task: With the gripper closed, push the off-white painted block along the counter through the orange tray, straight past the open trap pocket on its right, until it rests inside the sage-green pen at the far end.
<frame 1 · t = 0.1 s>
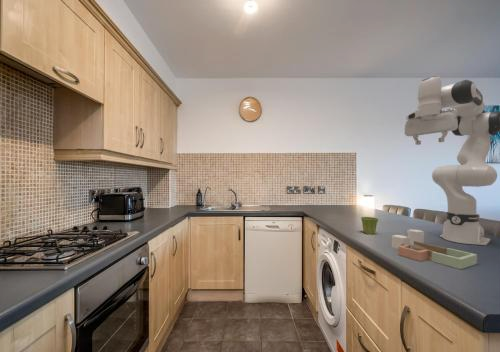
hand: (429, 143, 109), 48 cm above the countertop, tool pointing down, fingers open, 8 cm apart
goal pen: (452, 261, 92), on the countertop
plant pot: (369, 233, 139), on the countertop
beige cube: (415, 245, 115), on the countertop
block: (400, 248, 109), on the countertop
orange tray: (423, 254, 101), on the countertop
trap pocket: (413, 256, 98), on the countertop
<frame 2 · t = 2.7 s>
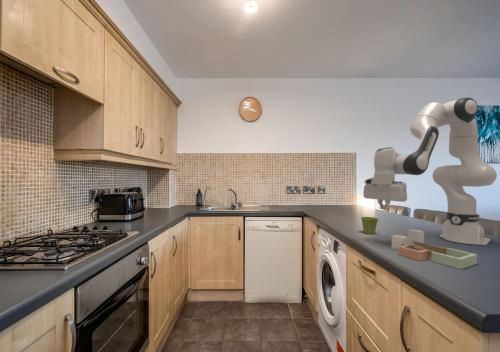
hand: (383, 209, 117), 17 cm above the countertop, tool pointing down, fingers closed
nothing on the countertop moved.
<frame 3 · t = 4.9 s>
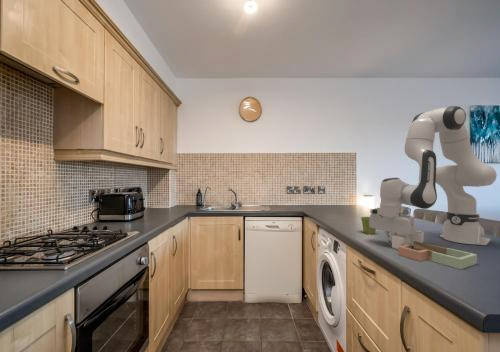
hand: (390, 241, 114), 2 cm above the countertop, tool pointing down, fingers closed
block: (400, 248, 109), on the countertop, touching gripper
everything else where it was.
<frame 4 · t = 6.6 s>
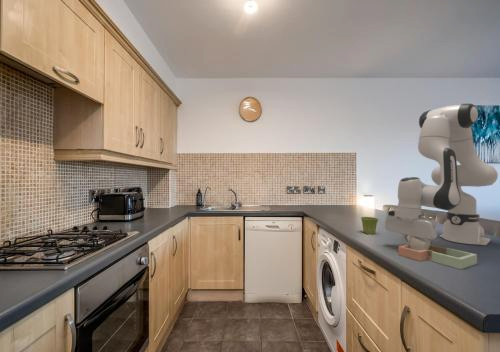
hand: (408, 245, 106), 2 cm above the countertop, tool pointing down, fingers closed
block: (417, 251, 103), point 1 cm above the countertop, tilted 18°, touching gripper
everything else where it was.
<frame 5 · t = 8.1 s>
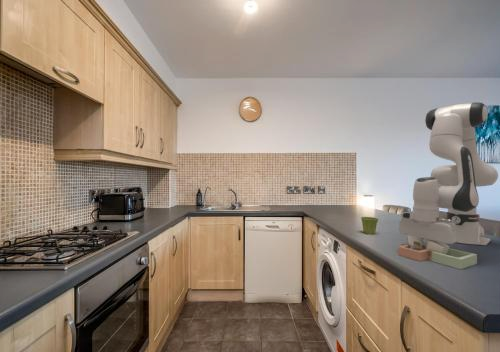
hand: (425, 249, 100), 2 cm above the countertop, tool pointing down, fingers closed
block: (434, 255, 97), point 1 cm above the countertop, tilted 18°, touching gripper
everything else where it was.
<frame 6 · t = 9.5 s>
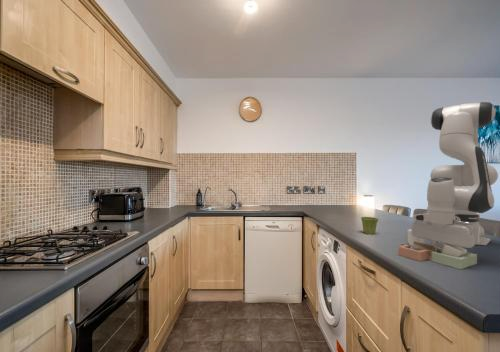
hand: (440, 253, 95), 2 cm above the countertop, tool pointing down, fingers closed
block: (450, 259, 92), point 1 cm above the countertop, tilted 18°, touching gripper
everything else where it was.
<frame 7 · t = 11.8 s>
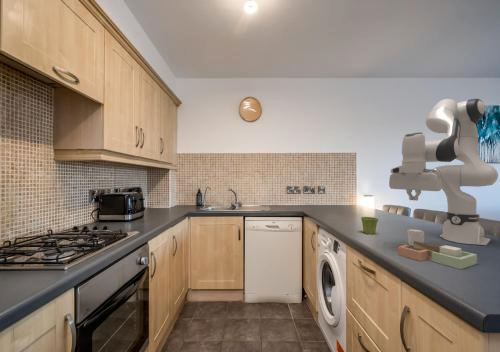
hand: (413, 200, 107), 22 cm above the countertop, tool pointing down, fingers closed
block: (450, 261, 92), on the countertop
everything else where it was.
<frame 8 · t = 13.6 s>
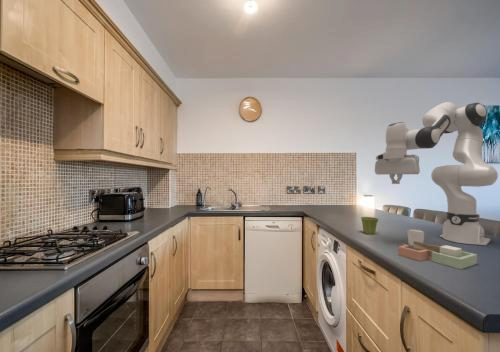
hand: (395, 183, 118), 29 cm above the countertop, tool pointing down, fingers closed
nothing on the countertop moved.
at the end: block inside the target area on the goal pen (0.4 cm from its centre), point 0.0 cm above the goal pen's base; block tilted 0°; block touching countertop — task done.
